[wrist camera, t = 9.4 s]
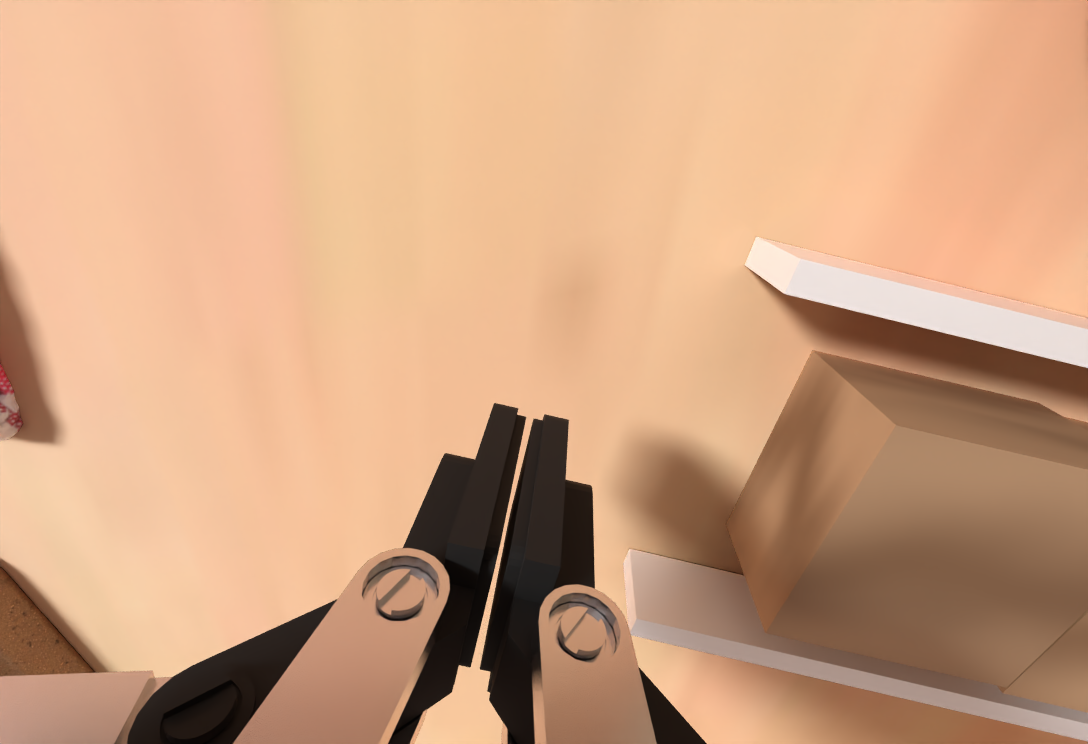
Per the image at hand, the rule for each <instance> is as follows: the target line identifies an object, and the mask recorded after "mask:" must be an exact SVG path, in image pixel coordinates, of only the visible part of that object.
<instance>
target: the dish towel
mask: <svg viewBox="0 0 1088 744" xmlns="http://www.w3.org/2000/svg"><path fill="white" fill-rule="evenodd" d="M22 423H23V422H22V420H21V418H20V414H19V406H18V404H17V402H16V400H15V394H14V390H13V388H12V387H11V385H10V382H9V380H8V378H7V376H6V374H5V372H4V369H3V367H2V365H1V363H0V441H2V440H8V439H9V438H11V437H12V436H14V435H15V434H16V433H17V432H18V431H19V429H20V427H21V426H22V425H23V424H22Z"/></svg>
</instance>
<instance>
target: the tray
mask: <svg viewBox="0 0 1088 744" xmlns="http://www.w3.org/2000/svg"><path fill="white" fill-rule="evenodd" d="M745 266H747V267H748V268H749V269H751V270H752V271H753V272H755V273H756V274H758V275H759V276H760V277H762V278H763V279H764V280H766V281H767V282H769V283H770V284H771V285H773V286H774V287H775V288H777V289H778V290H780V291H781V292H782V293H784V294H787V295H791V296H795V297H799V298H803V299H807V300H811V301H815V302H820V303H824V304H828V305H832V306H836V307H840V308H844V309H848V310H852V311H856V312H860V313H865V314H869V315H873V316H877V317H881V318H885V319H889V320H893V321H897V322H901V323H905V324H910V325H914V326H918V327H922V328H926V329H930V330H934V331H938V332H942V333H946V334H951V335H955V336H959V337H963V338H967V339H971V340H975V341H979V342H983V343H987V344H991V345H996V346H1000V347H1004V348H1008V349H1012V350H1016V351H1020V352H1024V353H1028V354H1032V355H1036V356H1041V357H1045V358H1049V359H1053V360H1057V361H1061V362H1065V363H1069V364H1073V365H1077V366H1081V367H1086V368H1088V318H1085V317H1081V316H1077V315H1073V314H1069V313H1065V312H1061V311H1057V310H1053V309H1049V308H1045V307H1041V306H1037V305H1032V304H1028V303H1024V302H1020V301H1016V300H1012V299H1008V298H1004V297H1000V296H996V295H992V294H988V293H984V292H980V291H975V290H971V289H967V288H963V287H959V286H955V285H951V284H947V283H943V282H939V281H935V280H931V279H927V278H923V277H919V276H914V275H910V274H906V273H902V272H898V271H894V270H890V269H886V268H882V267H878V266H874V265H870V264H866V263H862V262H858V261H853V260H849V259H845V258H841V257H837V256H833V255H829V254H825V253H821V252H817V251H813V250H809V249H805V248H801V247H797V246H792V245H788V244H784V243H780V242H776V241H772V240H768V239H764V238H760V237H756V239H755V241H754V244H753V246H752V248H751V251H750V253H749V256H748V258H747V261H746V263H745ZM623 565H624V578H625V590H626V602H627V614H628V627H629V630H630V634H631V635H633V636H637V637H641V638H645V639H650V640H654V641H658V642H663V643H667V644H671V645H676V646H680V647H684V648H688V649H693V650H697V651H701V652H706V653H710V654H714V655H718V656H723V657H727V658H731V659H736V660H740V661H744V662H749V663H753V664H757V665H761V666H766V667H770V668H774V669H779V670H783V671H787V672H792V673H796V674H800V675H804V676H809V677H813V678H817V679H822V680H826V681H830V682H834V683H839V684H843V685H847V686H852V687H856V688H860V689H865V690H869V691H873V692H877V693H882V694H886V695H890V696H895V697H899V698H903V699H908V700H912V701H916V702H920V703H925V704H929V705H933V706H938V707H942V708H946V709H950V710H955V711H959V712H963V713H968V714H972V715H976V716H981V717H985V718H989V719H993V720H998V721H1002V722H1006V723H1011V724H1015V725H1019V726H1024V727H1028V728H1032V729H1036V730H1041V731H1045V732H1049V733H1054V734H1058V735H1062V736H1066V737H1071V738H1075V739H1079V740H1084V741H1088V713H1087V712H1082V711H1078V710H1074V709H1069V708H1065V707H1061V706H1056V705H1052V704H1048V703H1043V702H1039V701H1035V700H1030V699H1026V698H1022V697H1017V696H1013V695H1009V694H1004V693H1002V692H1001V690H1000V689H999V688H998V687H997V686H996V685H992V684H988V683H983V682H979V681H974V680H970V679H965V678H961V677H957V676H952V675H948V674H943V673H939V672H935V671H930V670H926V669H921V668H917V667H912V666H908V665H904V664H899V663H895V662H890V661H886V660H882V659H877V658H873V657H868V656H864V655H859V654H855V653H851V652H846V651H842V650H837V649H833V648H829V647H824V646H820V645H815V644H811V643H806V642H802V641H798V640H793V639H789V638H784V637H780V636H776V635H771V634H767V633H765V631H764V628H763V626H762V623H761V620H760V617H759V615H758V612H757V609H756V606H755V604H754V601H753V598H752V595H751V593H750V590H749V587H748V584H747V582H746V579H745V576H744V575H740V574H736V573H732V572H727V571H723V570H719V569H715V568H710V567H706V566H702V565H698V564H693V563H689V562H685V561H681V560H676V559H672V558H668V557H664V556H659V555H655V554H651V553H647V552H642V551H638V550H634V549H630V548H629V551H628V553H627V556H626V558H625V561H624V563H623Z"/></svg>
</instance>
